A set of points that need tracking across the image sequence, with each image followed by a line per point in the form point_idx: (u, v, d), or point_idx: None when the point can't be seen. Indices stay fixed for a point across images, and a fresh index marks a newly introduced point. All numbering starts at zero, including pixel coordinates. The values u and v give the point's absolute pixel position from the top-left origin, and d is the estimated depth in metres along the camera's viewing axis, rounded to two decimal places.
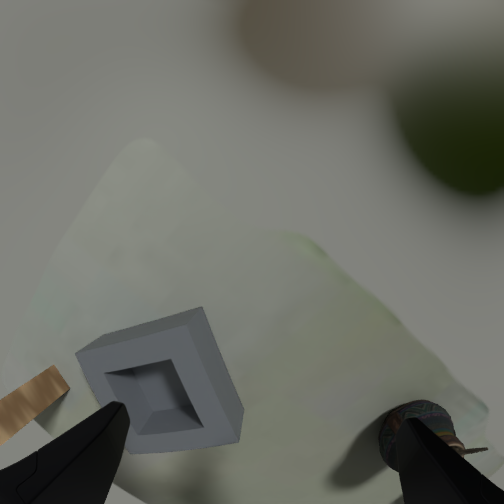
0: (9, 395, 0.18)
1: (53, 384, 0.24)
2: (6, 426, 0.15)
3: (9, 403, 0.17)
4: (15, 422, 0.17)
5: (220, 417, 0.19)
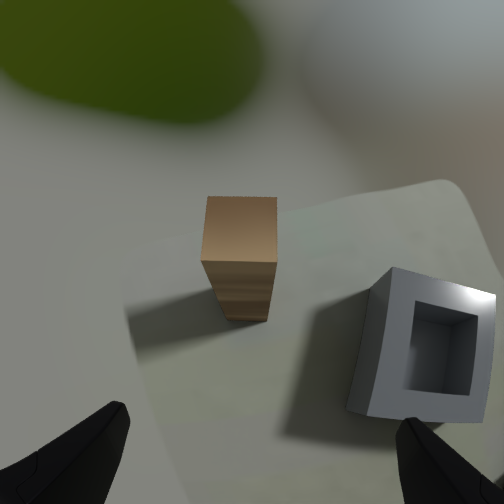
0: None
1: None
2: None
3: None
4: None
5: (484, 388, 0.15)
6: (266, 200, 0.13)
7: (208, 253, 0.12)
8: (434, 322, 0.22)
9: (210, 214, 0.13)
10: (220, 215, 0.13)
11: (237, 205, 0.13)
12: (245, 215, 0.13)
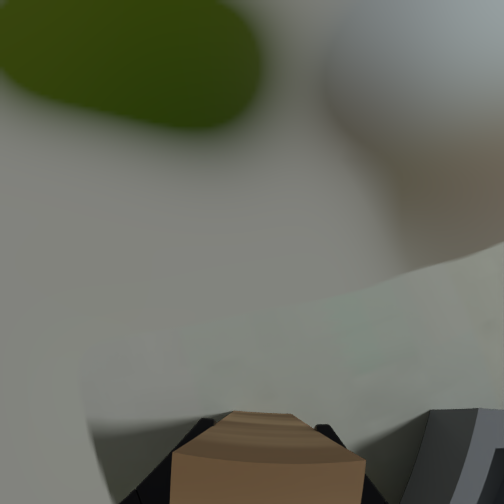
0: None
1: None
2: None
3: None
4: None
5: None
6: (338, 472, 0.04)
7: None
8: None
9: (183, 502, 0.03)
10: None
11: (256, 488, 0.04)
12: None
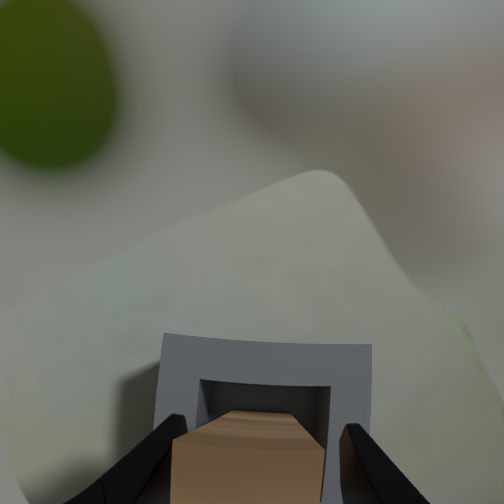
0: None
1: None
2: None
3: None
4: None
5: None
6: (302, 458, 0.05)
7: None
8: (283, 387, 0.16)
9: (181, 480, 0.05)
10: (201, 485, 0.05)
11: (237, 468, 0.05)
12: (254, 490, 0.05)
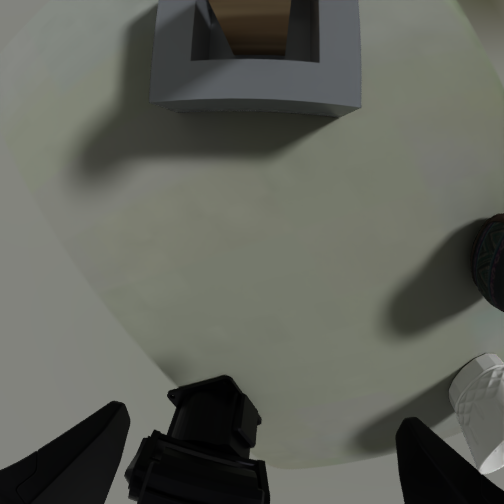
0: None
1: None
2: None
3: None
4: None
5: (351, 55, 0.12)
6: None
7: None
8: None
9: None
10: None
11: None
12: None
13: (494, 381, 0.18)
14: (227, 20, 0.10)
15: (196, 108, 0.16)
